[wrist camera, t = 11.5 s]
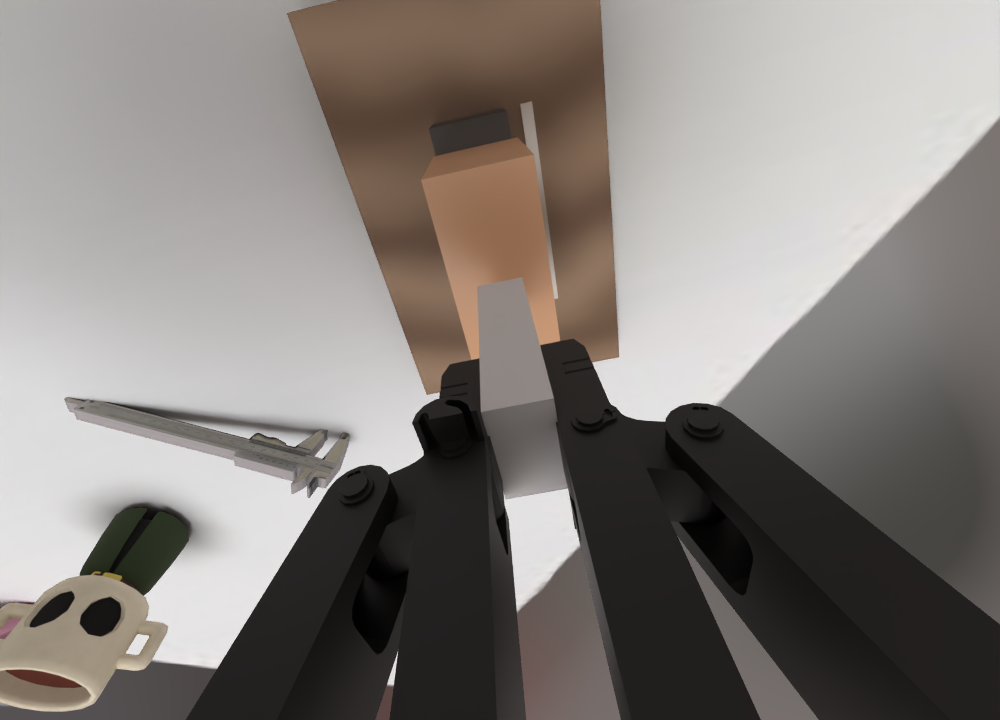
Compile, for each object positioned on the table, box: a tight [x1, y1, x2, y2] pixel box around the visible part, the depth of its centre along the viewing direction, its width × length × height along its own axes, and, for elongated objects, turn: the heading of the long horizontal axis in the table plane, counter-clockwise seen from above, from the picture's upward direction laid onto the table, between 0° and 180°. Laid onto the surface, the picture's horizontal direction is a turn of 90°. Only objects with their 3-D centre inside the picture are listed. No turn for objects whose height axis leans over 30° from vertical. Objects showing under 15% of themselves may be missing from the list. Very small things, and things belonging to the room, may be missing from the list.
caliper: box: [64, 398, 349, 498], centre depth 31 cm, size 20×1×6 cm, turn 77°
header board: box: [287, 0, 619, 395], centre depth 23 cm, size 22×14×8 cm, turn 11°
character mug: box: [0, 508, 188, 711], centre depth 34 cm, size 11×7×13 cm, turn 65°
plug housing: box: [421, 137, 560, 360], centre depth 20 cm, size 9×4×6 cm, turn 11°
